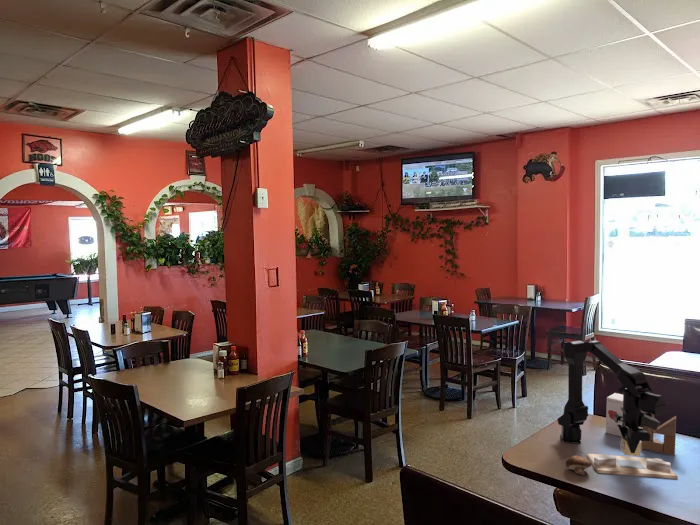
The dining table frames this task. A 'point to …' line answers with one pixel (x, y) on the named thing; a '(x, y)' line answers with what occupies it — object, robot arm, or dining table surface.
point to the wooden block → (669, 438)
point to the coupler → (626, 449)
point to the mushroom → (578, 464)
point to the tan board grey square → (631, 466)
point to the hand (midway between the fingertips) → (630, 450)
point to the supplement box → (613, 413)
